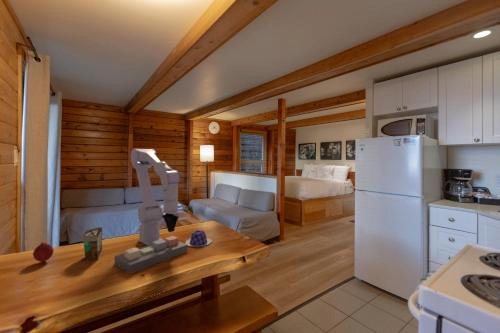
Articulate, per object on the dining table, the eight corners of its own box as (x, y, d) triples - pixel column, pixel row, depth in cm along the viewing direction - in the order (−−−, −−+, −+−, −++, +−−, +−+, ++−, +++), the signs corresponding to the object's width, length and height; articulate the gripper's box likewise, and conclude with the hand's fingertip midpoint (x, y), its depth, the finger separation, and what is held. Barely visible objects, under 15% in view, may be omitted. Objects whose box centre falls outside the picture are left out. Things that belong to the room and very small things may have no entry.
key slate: (152, 249, 97) (152, 242, 97) (161, 246, 101) (161, 239, 100) (157, 252, 95) (157, 244, 95) (166, 249, 98) (166, 241, 98)
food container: (85, 251, 101) (84, 228, 100) (102, 249, 103) (102, 226, 103) (77, 264, 89) (77, 237, 89) (97, 261, 92) (96, 235, 91)
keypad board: (114, 263, 90) (114, 255, 90) (170, 244, 109) (170, 238, 109) (130, 273, 83) (130, 265, 82) (187, 251, 102) (187, 244, 101)
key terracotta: (164, 245, 102) (164, 238, 102) (172, 243, 105) (172, 235, 105) (170, 248, 99) (169, 240, 99) (178, 245, 103) (178, 237, 102)
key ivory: (124, 259, 89) (124, 250, 89) (135, 255, 92) (135, 247, 92) (129, 262, 86) (129, 253, 86) (140, 258, 90) (140, 249, 89)
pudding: (191, 237, 119) (191, 227, 119) (214, 239, 117) (214, 228, 117) (180, 247, 107) (180, 235, 107) (206, 249, 105) (206, 237, 105)
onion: (57, 260, 93) (56, 239, 92) (40, 266, 87) (39, 245, 87) (47, 258, 94) (46, 237, 94) (29, 264, 89) (28, 243, 89)
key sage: (139, 258, 93) (139, 249, 93) (148, 254, 96) (148, 246, 96) (144, 260, 91) (144, 252, 91) (154, 257, 94) (154, 249, 94)
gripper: (152, 198, 102) (153, 230, 103) (172, 203, 94) (173, 237, 94) (167, 196, 108) (167, 226, 109) (187, 200, 99) (187, 233, 100)
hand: (171, 231), depth 102 cm, fingers closed
